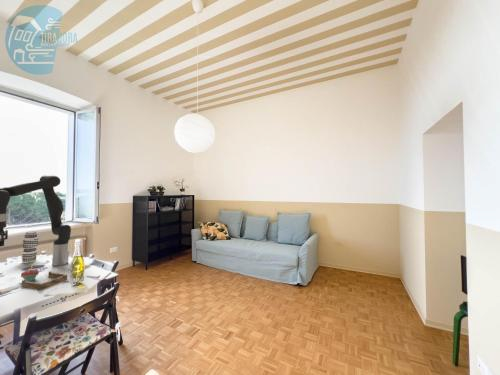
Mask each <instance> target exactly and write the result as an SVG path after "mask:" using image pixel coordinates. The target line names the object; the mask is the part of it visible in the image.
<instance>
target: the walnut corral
mask: <svg viewBox="0 0 500 375" xmlns="http://www.w3.org/2000/svg"><path fill="white" fill-rule="evenodd" d="M48 278H51V280H48V281H45V282H41V283H40V282H33V281H29V282H27V281H25V280H24V279H22V280H21V287H23V288H30V289H36V290H43V289H45V288H48V287H50V286H52V285H56V284H58V283H60V282H63V281H66V280H68V274H64V273H56V272H52V271H51V270H50V271H48Z"/></svg>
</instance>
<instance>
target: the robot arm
mask: <svg viewBox="0 0 500 375" xmlns="http://www.w3.org/2000/svg"><path fill="white" fill-rule="evenodd" d="M60 184H61V179H60V177H59V176H56V175H42V176H41V177H40V178H39V180H37V181H32V182H26V183H19V184H16V185H12V186H8V187H3V188H0V247H4V246H5V240H8V239H9V238H8V235H9V230H8V229H4V228H6V227H7V220H8V216H7V209H8V208H7V207H8V205H9V202H10V200H11V197H18V196H23V195H25V194H28V193H32V192H34V191H40V190H42V192H43V194H44V195H43V196H44V200H45V202H46V207H47V211H48V215H49V219H50V226H51V233H52V234H53V235H55V236H58V238H57V239H55V240H53V247H52V257H51V258H52V262H51V266H55V267H57V266H59V267H60V266H64V265H66V264H67V263H69V254H70V252H69V241H70V240H71V231H72V228H71V226H70V225H69V224H63V222H62V215H63V213H64V205H63V201H62V199H61V197H59V196H58V194H57V193H56V192H55V187H58V186H59V185H60Z"/></svg>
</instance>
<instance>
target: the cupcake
mask: <svg viewBox="0 0 500 375" xmlns="http://www.w3.org/2000/svg"><path fill="white" fill-rule="evenodd" d="M31 263H32V264H30V265H31V267H30V269H27V270H25V271H23V272H22V273H20V277H21V278H23V280H25V281H27V282H33V281H35V280H36V278H37V276H38V275H39V273H40V271H39V270H38V269H33V267H34V263H33V262H31Z"/></svg>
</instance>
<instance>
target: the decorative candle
mask: <svg viewBox="0 0 500 375" xmlns="http://www.w3.org/2000/svg"><path fill="white" fill-rule="evenodd" d="M38 234H39V232H37V231H33V230H32V231H27V232H26V233H24V238H23V240H22V249H23V252H22V254H21V255H22V258H21V263H22V264H28V263H29V262H30V263H33V262H37V257H38V256H37V255H38V252H37V248H38V244H39V237H38Z"/></svg>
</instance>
